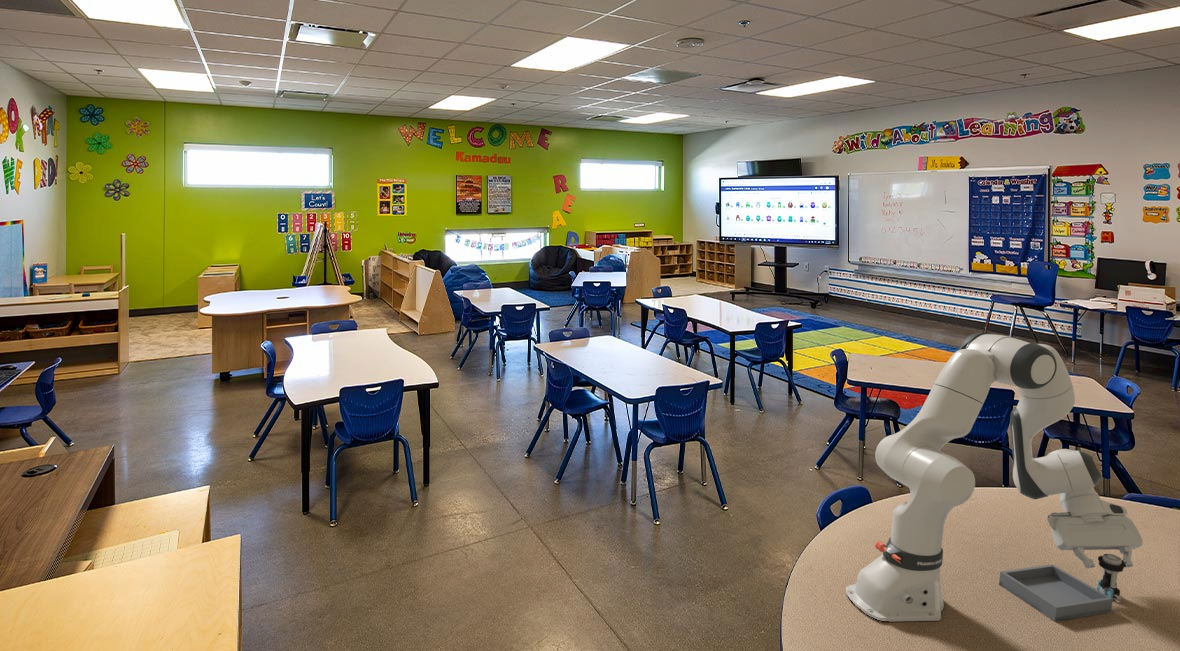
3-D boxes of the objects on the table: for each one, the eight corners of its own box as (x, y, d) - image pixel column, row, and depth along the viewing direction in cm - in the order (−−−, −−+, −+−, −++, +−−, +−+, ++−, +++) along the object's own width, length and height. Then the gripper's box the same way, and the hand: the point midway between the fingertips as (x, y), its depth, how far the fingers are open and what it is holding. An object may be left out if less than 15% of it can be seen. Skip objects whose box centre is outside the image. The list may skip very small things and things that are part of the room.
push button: (1130, 604, 162) (1135, 566, 160) (1107, 604, 162) (1112, 565, 160) (1110, 589, 168) (1115, 552, 167) (1088, 588, 168) (1093, 551, 167)
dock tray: (1054, 621, 155) (1056, 607, 154) (998, 584, 170) (1000, 571, 170) (1110, 612, 158) (1112, 598, 158) (1051, 576, 174) (1052, 564, 173)
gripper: (1051, 508, 170) (1075, 564, 162) (1131, 507, 170) (1159, 563, 162) (1038, 516, 175) (1060, 571, 167) (1115, 516, 176) (1141, 570, 168)
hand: (1109, 567), depth 165 cm, fingers open, 8 cm apart
